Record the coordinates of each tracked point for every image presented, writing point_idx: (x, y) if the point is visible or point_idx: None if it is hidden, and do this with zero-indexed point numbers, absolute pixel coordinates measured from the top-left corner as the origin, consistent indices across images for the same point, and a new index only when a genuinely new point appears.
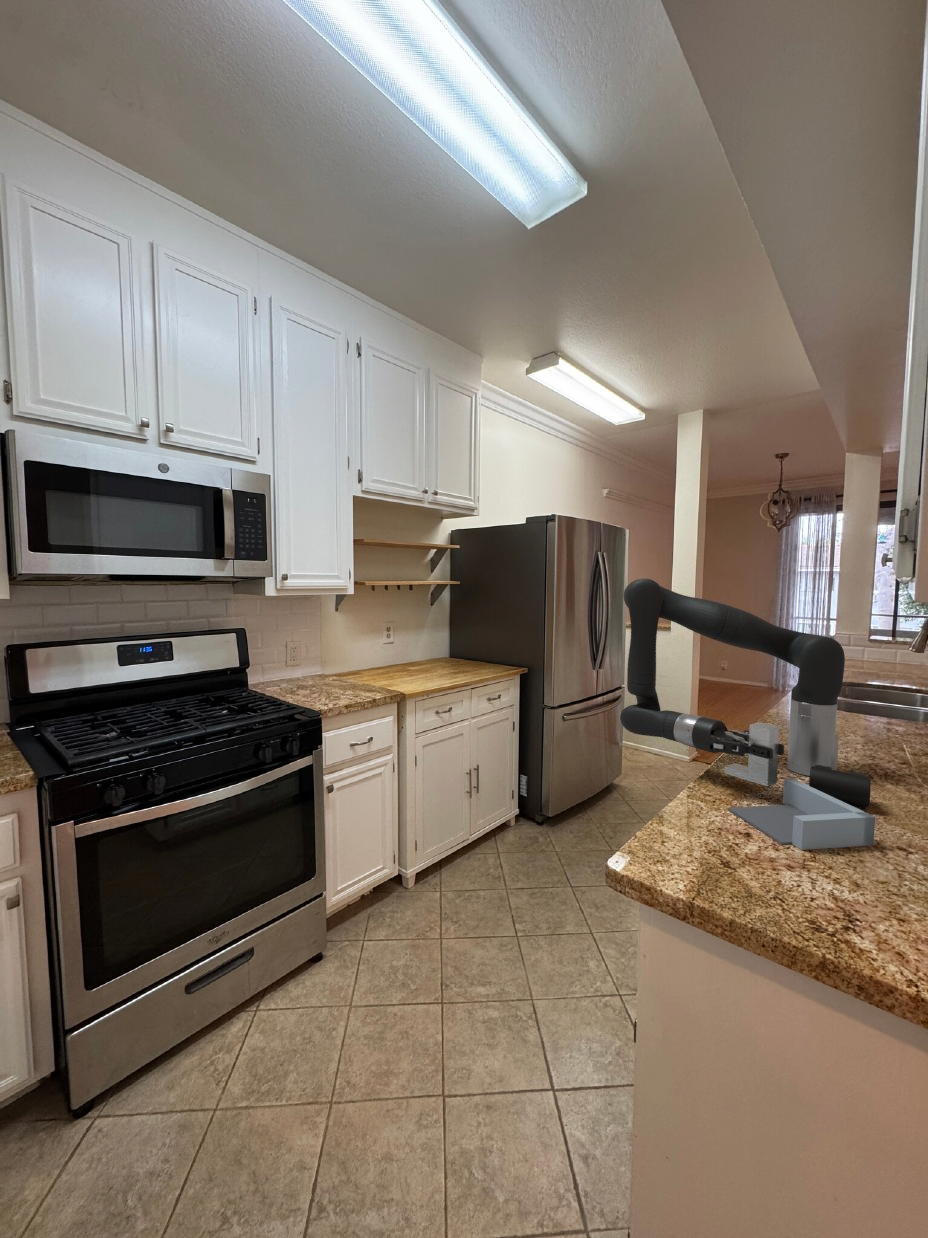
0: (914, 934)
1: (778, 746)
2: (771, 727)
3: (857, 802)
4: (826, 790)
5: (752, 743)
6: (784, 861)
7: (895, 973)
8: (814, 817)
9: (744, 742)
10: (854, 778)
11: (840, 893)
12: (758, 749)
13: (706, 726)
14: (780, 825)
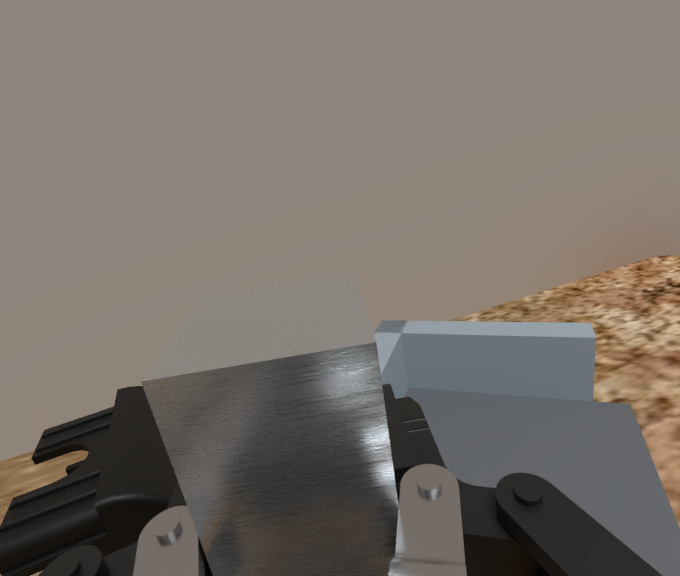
0: (585, 279)
1: None
2: (295, 285)
3: None
4: None
5: (406, 472)
6: (675, 371)
7: (671, 260)
8: (537, 328)
9: (456, 517)
10: (146, 406)
11: (622, 315)
12: (429, 436)
13: None
14: (551, 462)
